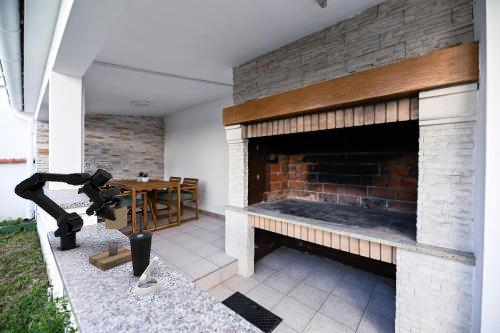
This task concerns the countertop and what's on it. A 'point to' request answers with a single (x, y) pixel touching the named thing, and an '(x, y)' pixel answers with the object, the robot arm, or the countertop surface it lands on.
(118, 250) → the post stand
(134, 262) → the drinking cup
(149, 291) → the hook
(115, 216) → the collar
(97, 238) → the countertop surface
